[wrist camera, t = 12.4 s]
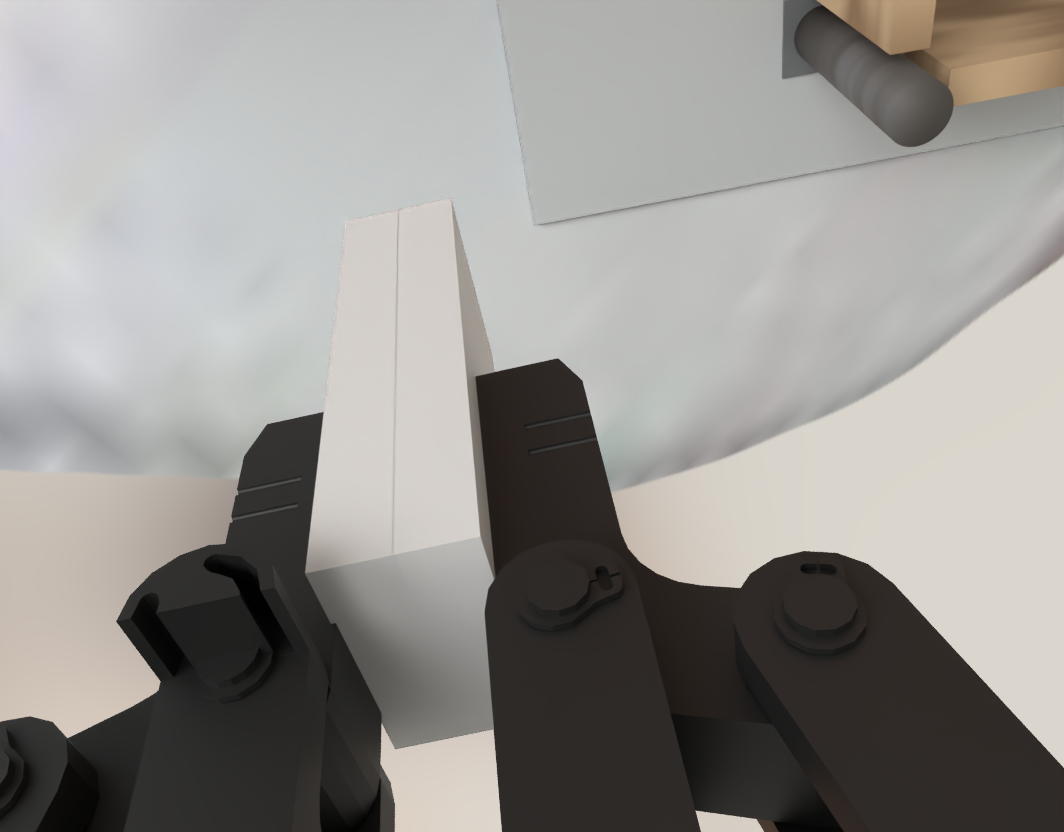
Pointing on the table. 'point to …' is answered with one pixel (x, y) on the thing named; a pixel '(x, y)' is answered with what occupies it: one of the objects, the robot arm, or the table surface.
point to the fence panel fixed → (939, 62)
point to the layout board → (694, 102)
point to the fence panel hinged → (889, 21)
